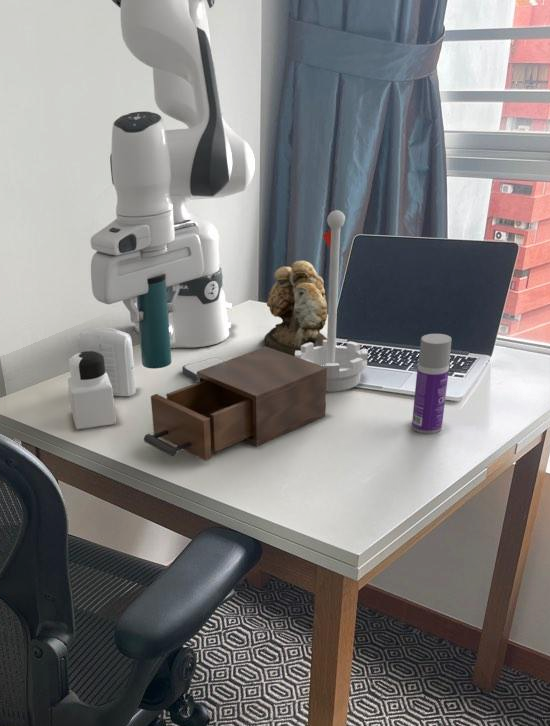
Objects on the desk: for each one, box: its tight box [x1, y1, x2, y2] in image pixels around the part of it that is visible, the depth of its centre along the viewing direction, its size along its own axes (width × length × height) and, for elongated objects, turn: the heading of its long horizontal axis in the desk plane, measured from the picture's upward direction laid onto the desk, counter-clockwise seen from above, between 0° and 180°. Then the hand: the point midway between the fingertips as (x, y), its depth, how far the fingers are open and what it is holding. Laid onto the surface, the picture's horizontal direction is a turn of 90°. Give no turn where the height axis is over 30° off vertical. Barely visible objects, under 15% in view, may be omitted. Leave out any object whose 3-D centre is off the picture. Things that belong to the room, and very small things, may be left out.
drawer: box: [143, 380, 253, 462], centre depth 135 cm, size 19×14×7 cm
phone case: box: [181, 356, 226, 382], centre depth 159 cm, size 9×2×16 cm
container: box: [411, 333, 452, 435], centre depth 131 cm, size 5×5×15 cm
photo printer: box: [78, 327, 137, 397], centre depth 155 cm, size 10×4×12 cm, turn 69°
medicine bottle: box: [67, 351, 117, 430], centre depth 145 cm, size 7×7×12 cm
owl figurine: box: [263, 260, 328, 356], centre depth 166 cm, size 18×12×17 cm, turn 26°
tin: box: [136, 274, 172, 369], centre depth 138 cm, size 5×5×15 cm
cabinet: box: [196, 345, 327, 447], centre depth 141 cm, size 16×15×9 cm
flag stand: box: [295, 209, 369, 392], centre depth 147 cm, size 13×13×30 cm
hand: (152, 317), depth 137 cm, fingers closed on tin, 5 cm apart
